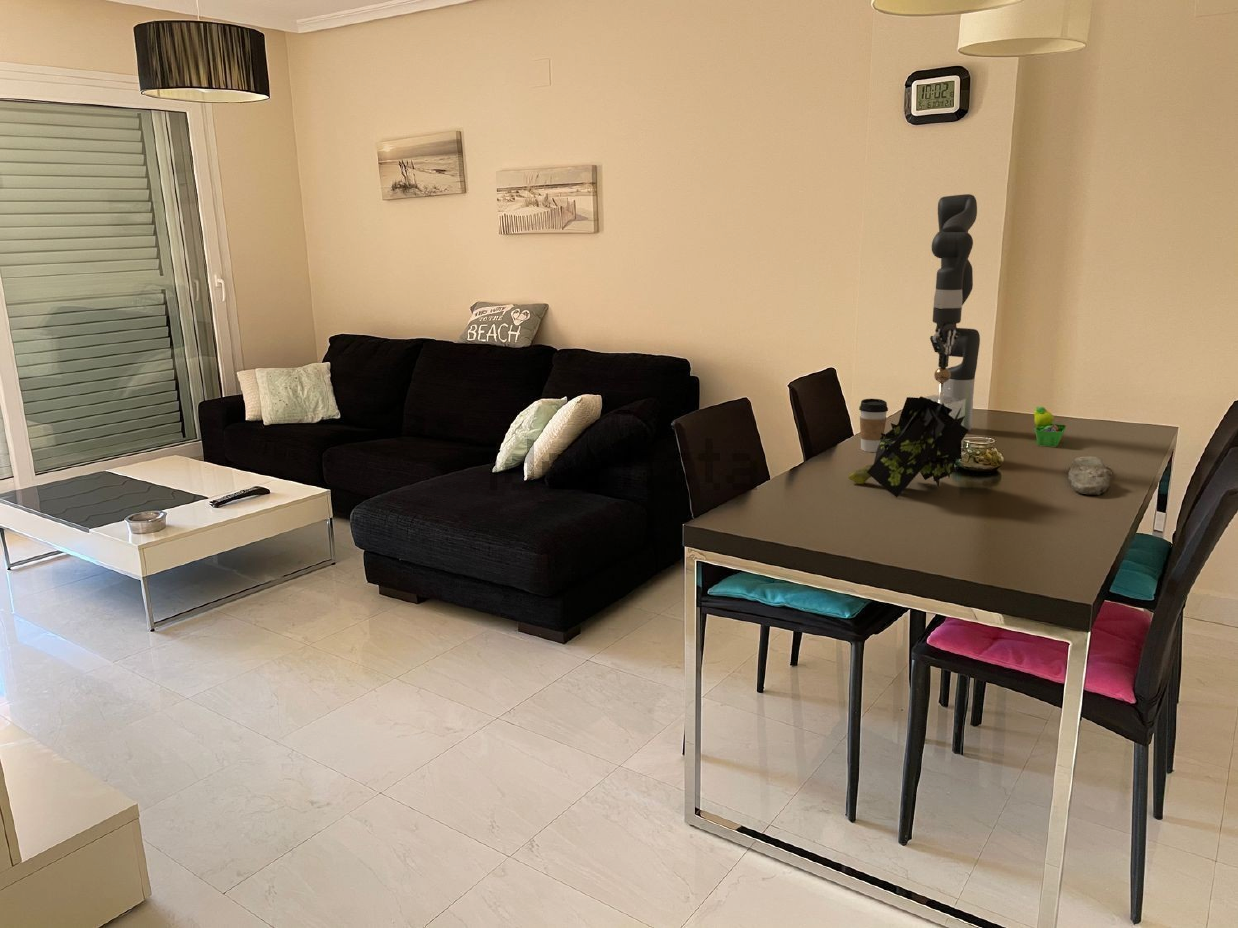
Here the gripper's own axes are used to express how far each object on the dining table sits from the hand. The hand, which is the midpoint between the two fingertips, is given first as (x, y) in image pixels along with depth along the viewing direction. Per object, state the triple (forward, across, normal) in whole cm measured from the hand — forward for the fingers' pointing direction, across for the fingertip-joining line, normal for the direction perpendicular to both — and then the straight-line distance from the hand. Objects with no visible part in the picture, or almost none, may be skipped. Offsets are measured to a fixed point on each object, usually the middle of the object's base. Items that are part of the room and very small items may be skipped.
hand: (943, 367), depth 260 cm
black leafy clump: (+27, +36, +12) cm, 46 cm away
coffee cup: (+26, +6, -18) cm, 33 cm away
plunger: (+22, 0, 0) cm, 22 cm away
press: (+26, 0, 0) cm, 26 cm away
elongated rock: (+27, -5, +41) cm, 49 cm away
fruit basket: (+26, -39, +15) cm, 49 cm away
